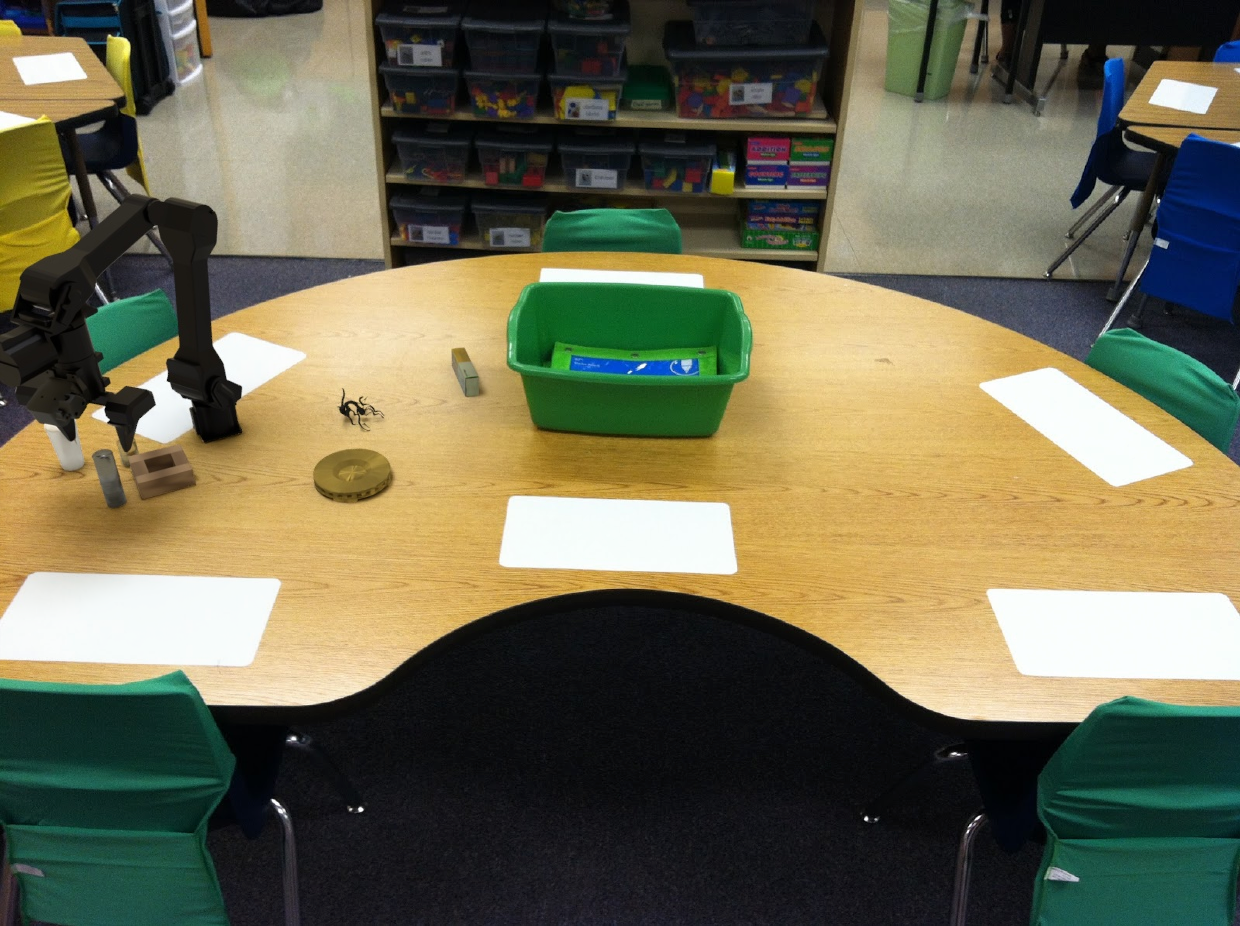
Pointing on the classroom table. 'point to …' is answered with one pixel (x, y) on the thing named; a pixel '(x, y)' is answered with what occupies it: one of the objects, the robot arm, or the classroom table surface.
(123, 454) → the short pin
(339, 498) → the compass
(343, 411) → the creature
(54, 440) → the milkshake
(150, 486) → the collar
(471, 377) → the medication box
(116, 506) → the long pin
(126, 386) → the robot arm
